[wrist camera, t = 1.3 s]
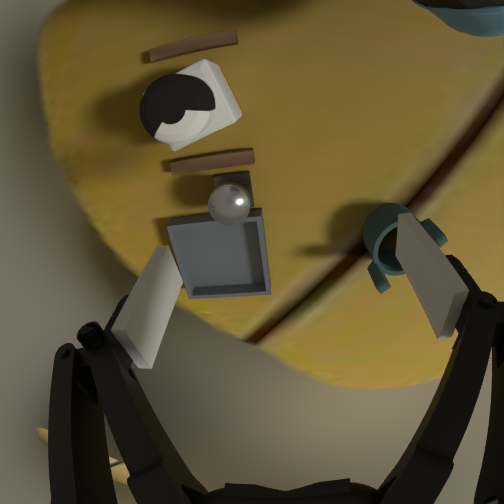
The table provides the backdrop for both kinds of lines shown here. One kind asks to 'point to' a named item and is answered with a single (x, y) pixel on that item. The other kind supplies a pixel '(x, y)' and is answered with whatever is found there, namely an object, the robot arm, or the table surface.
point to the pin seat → (215, 158)
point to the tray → (221, 256)
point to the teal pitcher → (375, 232)
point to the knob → (231, 198)
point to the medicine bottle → (188, 105)
